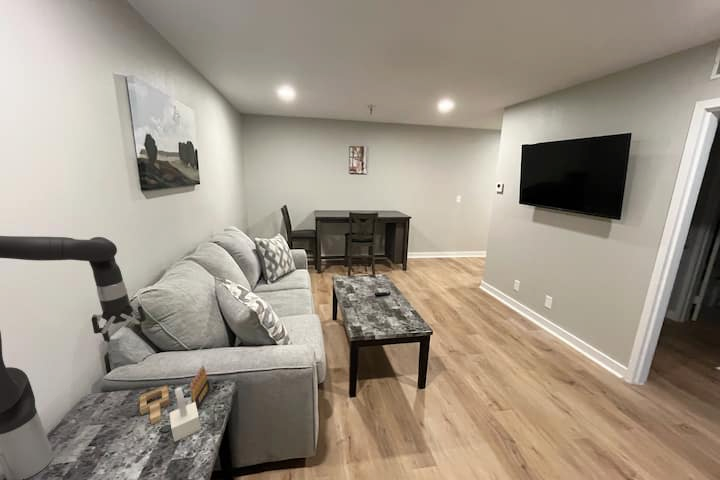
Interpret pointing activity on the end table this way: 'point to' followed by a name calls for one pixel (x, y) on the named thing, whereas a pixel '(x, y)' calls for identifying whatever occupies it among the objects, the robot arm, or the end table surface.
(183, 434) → the ring stand
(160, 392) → the oak link
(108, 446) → the end table surface
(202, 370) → the ammunition clip
